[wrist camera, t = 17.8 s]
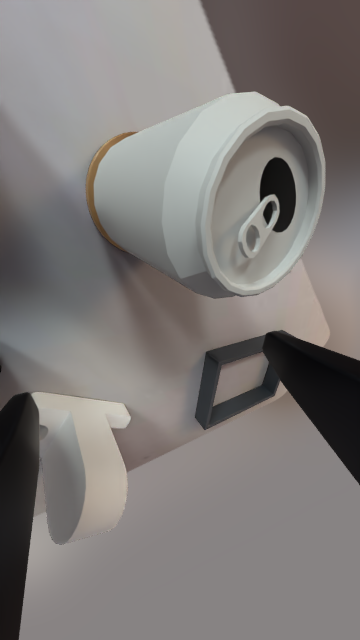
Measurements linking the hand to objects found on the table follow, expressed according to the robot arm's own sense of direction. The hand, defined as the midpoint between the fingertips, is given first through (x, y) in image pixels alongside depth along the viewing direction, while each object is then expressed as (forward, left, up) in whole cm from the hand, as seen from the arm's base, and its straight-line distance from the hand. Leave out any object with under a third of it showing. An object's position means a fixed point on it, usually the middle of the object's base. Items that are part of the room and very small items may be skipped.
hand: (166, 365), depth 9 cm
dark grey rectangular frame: (+13, -24, -13) cm, 30 cm away
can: (+6, +3, -12) cm, 14 cm away
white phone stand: (-8, -13, -13) cm, 20 cm away
